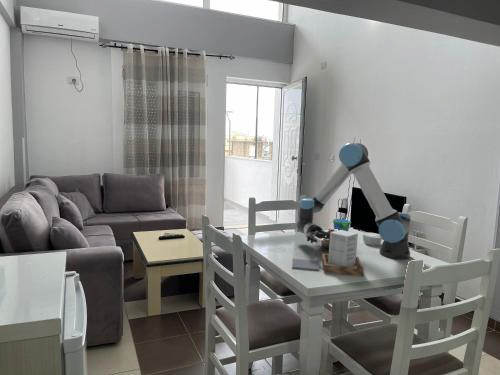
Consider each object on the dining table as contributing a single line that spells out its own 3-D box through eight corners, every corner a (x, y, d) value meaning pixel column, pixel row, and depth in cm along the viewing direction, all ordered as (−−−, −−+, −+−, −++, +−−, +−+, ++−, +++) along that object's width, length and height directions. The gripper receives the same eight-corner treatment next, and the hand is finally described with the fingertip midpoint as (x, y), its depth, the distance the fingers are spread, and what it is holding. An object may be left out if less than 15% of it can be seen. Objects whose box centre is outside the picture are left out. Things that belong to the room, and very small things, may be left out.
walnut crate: (357, 263, 182) (357, 256, 182) (363, 276, 165) (363, 268, 165) (321, 260, 184) (322, 253, 184) (323, 272, 167) (324, 265, 167)
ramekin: (379, 247, 214) (380, 238, 213) (359, 244, 219) (360, 235, 218) (383, 243, 223) (384, 234, 223) (364, 240, 229) (365, 231, 228)
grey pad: (317, 262, 181) (317, 260, 181) (319, 271, 169) (319, 269, 169) (292, 260, 182) (292, 258, 182) (292, 268, 170) (292, 266, 170)
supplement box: (355, 269, 175) (359, 233, 172) (344, 273, 168) (348, 236, 166) (337, 263, 181) (340, 229, 179) (326, 267, 175) (329, 231, 173)
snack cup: (351, 240, 225) (353, 224, 224) (333, 239, 226) (335, 222, 224) (346, 234, 240) (348, 218, 239) (330, 233, 241) (331, 217, 240)
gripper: (333, 237, 205) (355, 248, 185) (291, 238, 198) (309, 250, 178) (334, 224, 204) (356, 234, 184) (292, 224, 197) (310, 235, 177)
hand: (333, 242), depth 181 cm, fingers open, 13 cm apart
